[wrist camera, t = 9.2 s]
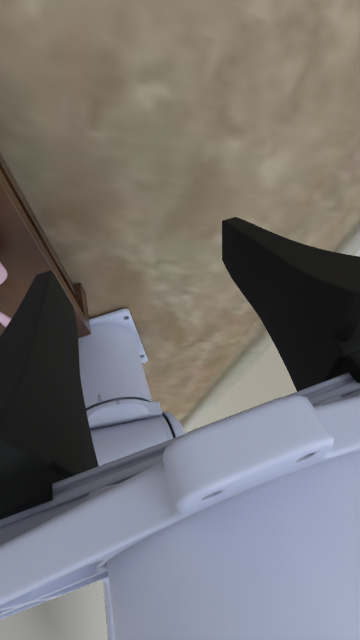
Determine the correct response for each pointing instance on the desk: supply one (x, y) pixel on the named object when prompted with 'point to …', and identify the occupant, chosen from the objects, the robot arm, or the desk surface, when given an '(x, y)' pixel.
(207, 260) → the desk surface
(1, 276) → the rabbit figure
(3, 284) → the rack
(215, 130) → the desk surface
